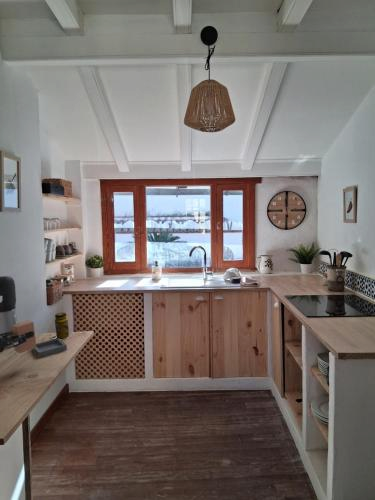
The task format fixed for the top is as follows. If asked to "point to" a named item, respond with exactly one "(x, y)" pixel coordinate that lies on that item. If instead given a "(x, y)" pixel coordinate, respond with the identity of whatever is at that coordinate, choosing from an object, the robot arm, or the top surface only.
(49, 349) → the tray
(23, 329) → the brick
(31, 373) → the top surface
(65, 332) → the condiment
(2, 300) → the robot arm
